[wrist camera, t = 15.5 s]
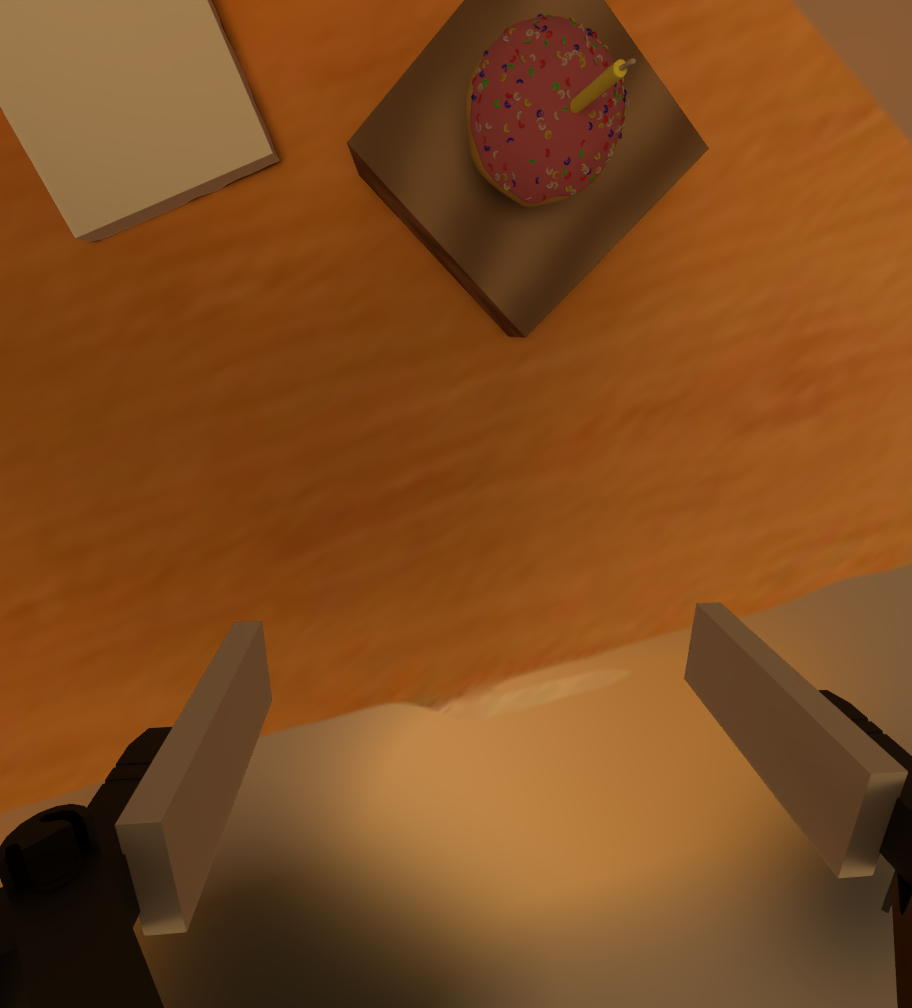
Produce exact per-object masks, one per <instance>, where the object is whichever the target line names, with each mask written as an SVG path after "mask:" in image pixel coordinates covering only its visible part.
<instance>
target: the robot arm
mask: <svg viewBox="0 0 912 1008" xmlns="http://www.w3.org/2000/svg"><path fill="white" fill-rule="evenodd" d="M684 679H685V680H686V682H687V683H688V684H689V685H690V687H691V688H692V689H693V691H694V692H695V693H696V695H697V696H698V697H699V698H700V700H701V701H702V702H703V704H704V705H705V706H706V707H707V709H708V710H709V711H710V713H711V714H712V715H713V717H714V718H715V719H716V720H717V722H718V723H719V724H720V726H721V727H722V728H723V730H724V731H725V732H726V733H727V735H728V736H729V737H730V739H731V740H732V741H733V743H734V744H735V745H736V746H737V748H738V749H739V750H740V751H741V753H742V754H743V755H744V757H745V758H746V759H747V761H748V762H749V763H750V764H751V766H752V767H753V768H754V770H755V771H756V772H757V774H758V775H759V776H760V778H761V779H762V780H763V781H764V783H765V784H766V785H767V787H768V788H769V789H770V790H771V792H772V793H773V794H774V796H775V797H776V798H777V799H778V801H779V802H780V803H781V805H782V806H783V807H784V808H785V810H786V811H787V813H789V815H790V816H791V818H792V819H793V820H794V822H795V823H796V824H797V825H798V827H799V828H800V829H801V831H802V832H803V833H804V835H805V836H806V837H807V838H808V840H809V841H810V842H811V843H812V845H813V846H814V847H815V849H816V850H817V851H818V853H819V854H820V855H821V857H822V858H823V859H824V860H825V862H826V863H827V864H828V866H829V867H830V868H831V869H832V871H833V872H834V873H835V875H836V876H837V877H838V878H846V877H857V876H871V875H873V873H874V870H875V867H876V864H877V861H878V858H879V855H880V853H881V854H882V855H883V856H884V858H885V859H886V860H887V861H888V862H889V863H890V864H891V865H892V866H893V868H894V869H895V872H894V875H893V878H892V880H891V883H890V886H889V889H888V892H887V894H886V897H885V900H884V903H883V906H882V910H883V911H885V912H887V913H888V912H889V909H890V907H891V905H892V911H893V930H894V949H895V966H896V985H897V1004H898V1008H912V756H911V755H910V754H909V753H907V752H906V751H905V750H904V749H903V748H902V747H900V746H899V745H898V744H897V743H896V742H895V741H894V740H892V739H891V738H890V737H889V736H888V735H887V734H883V732H882V730H881V729H880V728H878V727H877V726H876V725H875V724H874V723H872V722H871V721H870V722H869V721H868V718H867V717H866V716H865V715H863V714H862V713H861V712H860V711H859V710H858V709H856V708H855V707H854V706H853V705H852V704H851V703H849V702H847V701H846V700H844V699H842V698H840V697H838V696H837V695H835V694H833V693H831V692H830V691H828V690H817V689H816V688H815V687H814V686H812V685H811V684H810V683H809V682H808V681H807V680H806V679H805V678H804V677H802V676H801V675H800V674H799V673H798V672H797V671H796V670H794V668H792V667H791V666H790V665H789V664H788V663H787V662H786V661H785V660H783V659H782V658H781V657H780V656H779V655H778V654H777V653H776V652H775V651H773V650H772V649H771V648H770V647H769V646H768V645H767V644H766V643H765V642H763V641H762V640H761V639H760V638H759V637H758V636H757V635H756V634H754V632H752V631H751V630H750V629H749V628H748V627H747V626H746V625H744V624H743V623H742V622H741V621H740V620H739V619H738V618H737V617H736V616H735V615H734V614H732V613H731V612H730V611H729V610H728V609H727V608H726V607H725V606H723V605H722V604H721V603H696V609H695V615H694V621H693V627H692V634H691V640H690V646H689V653H688V659H687V665H686V671H685V677H684ZM271 702H272V694H271V687H270V679H269V671H268V664H267V656H266V649H265V641H264V633H263V626H262V621H249V622H235V623H234V624H233V626H232V628H231V629H230V631H229V633H228V634H227V636H226V638H225V639H224V641H223V643H222V645H221V646H220V648H219V650H218V651H217V653H216V655H215V656H214V658H213V660H212V661H211V663H210V665H209V667H208V668H207V670H206V672H205V673H204V675H203V677H202V678H201V680H200V682H199V683H198V685H197V687H196V689H195V690H194V692H193V694H192V695H191V697H190V699H189V700H188V702H187V704H186V705H185V707H184V709H183V711H182V712H181V714H180V716H179V717H178V719H177V721H176V722H175V724H174V726H173V727H162V728H149V729H147V730H146V731H145V732H144V733H143V734H141V735H140V736H139V737H138V738H137V739H135V740H134V741H133V742H132V743H131V744H129V745H128V747H127V748H126V750H125V751H124V753H123V754H122V756H121V757H120V759H119V760H118V762H117V763H116V767H115V768H113V769H112V771H111V772H110V774H109V775H108V777H107V778H106V780H105V784H102V786H101V787H100V789H99V790H98V792H97V793H96V795H95V796H94V798H93V799H92V801H91V802H90V804H89V805H88V807H87V808H86V807H85V806H80V805H75V804H68V805H61V806H56V807H53V808H51V809H48V810H45V811H43V812H40V813H38V814H36V815H35V816H33V817H31V818H30V819H28V820H26V821H25V822H23V823H21V824H20V825H19V826H18V827H17V828H16V829H15V830H14V831H12V832H11V833H10V834H9V835H8V836H7V837H6V838H5V840H4V841H3V843H2V844H1V846H0V879H1V882H2V884H3V887H1V888H0V1008H164V1007H163V1004H162V1002H161V999H160V997H159V994H158V992H157V989H156V986H155V984H154V981H153V979H152V976H151V974H150V971H149V968H148V966H147V964H146V961H145V958H144V956H143V953H142V951H141V948H140V946H139V943H138V941H137V938H136V935H135V933H134V931H133V926H134V924H135V922H136V920H137V918H138V916H139V917H140V921H141V925H142V928H143V932H144V935H157V934H169V933H181V932H186V931H187V929H188V926H189V924H190V921H191V918H192V916H193V913H194V910H195V907H196V905H197V902H198V899H199V897H200V894H201V891H202V889H203V886H204V883H205V880H206V878H207V875H208V872H209V870H210V867H211V864H212V861H213V859H214V856H215V853H216V851H217V848H218V845H219V843H220V840H221V837H222V834H223V832H224V829H225V826H226V823H227V821H228V818H229V815H230V813H231V810H232V807H233V805H234V802H235V799H236V796H237V794H238V791H239V788H240V786H241V783H242V780H243V778H244V775H245V772H246V769H247V767H248V764H249V761H250V759H251V756H252V753H253V750H254V748H255V745H256V742H257V740H258V737H259V734H260V731H261V729H262V726H263V723H264V721H265V718H266V715H267V713H268V710H269V707H270V704H271Z"/></svg>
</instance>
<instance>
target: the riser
mask: <svg viewBox="0 0 912 1008" xmlns="http://www.w3.org/2000/svg"><path fill="white" fill-rule="evenodd" d="M539 14H543V15H544V16H545V15H547V14H550V15H551V16H560V17H564V18H566V19H569V17H570V16H571V17H572V18H573V19H574V22H575V23H577V24H579V25H581V24H583V27H584V28H586V29H587V28H590V29H591V30H592V32H593V31H595V32H596V33H597V39H598V40H599V41H600V42H601V43H602V44H601V45H602V46H603V45H606V46H607V47H608V51H607V52H608V53H609V55H610V56H611V58H612V59H613V61H614V62H616V61H617V60H619V59H622V60H624V61H625V62H627V61H628V60H630V59H633V58H634V59H635V60H636V62H635V63H634V64H632V65H630V66H629V67H628V68H627V72H626V74H625V76H624V82H623V87H624V89H625V90H626V91H627V95H626V96H625V98H626V100H628V101H629V105H628V107H627V108H626V114H625V117H626V118H625V119H624V123H625V124H624V125H623V128H622V131H621V133H622V138H621V139H620V138H619V140H618V142H617V145H616V147H615V149H614V151H613V154H612V155H611V157H610V160H609V161H608V163H607V165H606V166H605V168H604V169H603V171H602V172H601V173H600V175H599V176H598V177H597V178H596V179H595V180H594V181H593V182H592V183H591V184H590V185H589V186H587V187H586V188H585V189H584V190H582V191H581V192H579V193H578V194H576V195H574V196H572V197H570V198H568V199H565V200H562V201H559V202H556V203H552V204H547V205H541V206H535V207H525V206H522V205H520V204H518V203H517V202H515V201H514V200H512V199H511V198H509V197H507V196H506V195H504V194H503V193H502V192H500V191H499V190H497V189H496V188H495V187H494V186H492V185H491V184H490V183H489V182H488V181H487V180H486V179H485V178H484V177H483V176H482V175H481V174H480V172H479V171H478V170H477V168H476V166H475V164H474V162H473V160H472V158H471V155H470V149H469V137H468V131H467V123H466V109H465V107H466V94H467V89H468V85H469V82H470V79H471V76H472V73H473V71H474V69H475V67H476V65H477V64H478V62H479V61H480V59H481V58H482V57H483V55H484V52H485V51H486V50H487V51H488V50H489V48H490V47H491V46H492V45H493V44H494V43H495V42H496V41H497V40H498V39H499V38H500V37H501V35H502V34H503V32H504V31H505V29H506V28H510V27H511V26H512V25H514V24H516V23H518V22H521V21H524V20H528V19H532V18H536V17H537V16H538V15H539ZM539 17H542V16H539ZM589 31H590V30H589ZM590 32H591V31H590ZM593 35H595V34H593ZM595 37H596V36H595ZM604 48H606V47H604ZM606 49H607V48H606ZM624 94H625V93H624ZM626 100H625V101H626ZM627 104H628V103H627ZM626 106H627V105H626ZM620 137H621V135H620ZM347 144H348V147H349V149H350V152H351V155H352V157H353V160H354V163H355V165H356V168H357V170H358V173H359V175H360V176H361V177H362V179H363V180H364V181H365V182H366V183H367V184H368V185H369V186H370V187H371V188H372V189H373V190H374V191H375V193H376V194H377V195H378V196H379V197H380V198H381V199H382V200H383V201H384V202H385V203H386V204H387V205H388V207H389V208H390V209H391V210H392V211H393V212H394V213H395V214H396V215H397V216H398V217H399V218H400V219H401V221H402V222H403V223H404V224H405V225H406V226H407V227H408V228H409V229H410V230H411V231H412V232H413V234H414V235H415V236H416V237H417V238H418V239H419V240H420V241H421V242H422V243H423V244H424V245H425V246H426V248H427V249H428V250H429V251H430V252H431V253H432V254H433V255H434V256H435V257H436V258H437V259H438V260H439V262H440V263H441V264H442V265H443V266H444V267H445V268H446V269H447V270H448V271H449V272H450V273H451V275H452V276H453V277H454V278H455V279H456V280H457V281H458V282H459V283H460V284H461V285H462V286H463V287H464V289H465V290H466V291H467V292H468V293H469V294H470V295H471V296H472V297H473V298H474V299H475V300H476V301H477V303H478V304H479V305H480V306H481V307H482V308H483V309H484V310H485V311H486V312H487V313H488V314H489V315H490V317H491V318H492V319H493V320H494V321H495V322H496V323H497V324H498V325H499V326H500V327H501V328H502V330H503V331H504V332H505V333H506V334H507V335H508V336H509V337H526V336H527V335H528V334H529V333H530V332H531V331H532V330H533V329H534V328H535V327H536V326H537V325H538V324H539V323H540V322H541V321H542V320H543V319H544V318H545V317H546V316H547V315H548V314H549V313H550V312H551V311H552V310H553V309H554V308H555V307H556V306H557V304H558V303H559V302H560V301H561V300H562V299H563V298H564V297H565V296H566V295H567V294H568V293H569V292H570V291H571V290H572V289H573V288H574V287H575V286H576V285H577V284H578V283H579V282H580V281H581V280H582V279H583V278H584V277H585V276H586V275H587V274H588V273H589V272H590V271H591V270H592V268H593V267H594V266H595V265H596V264H597V263H598V262H599V261H600V260H601V259H602V258H603V257H604V256H605V255H606V254H607V253H608V252H609V251H610V250H611V249H612V248H613V247H614V246H615V245H616V244H617V243H618V242H619V241H620V240H621V239H622V238H623V237H624V236H625V235H626V234H627V233H628V231H629V230H630V229H631V228H632V227H633V226H634V225H635V224H636V223H637V222H638V221H639V220H640V219H641V218H642V217H643V216H644V215H645V214H646V213H647V212H648V211H649V210H650V209H651V208H652V207H653V206H654V205H655V204H656V203H657V202H658V201H659V200H660V199H661V198H662V197H663V195H664V194H665V193H666V192H667V191H668V190H669V189H670V188H671V187H672V186H673V185H674V184H675V183H676V182H677V181H678V180H679V179H680V178H681V177H682V176H683V175H684V174H685V173H686V172H687V171H688V170H689V169H690V168H691V167H692V166H693V165H694V164H695V163H696V162H697V161H698V160H699V158H700V157H701V156H702V155H703V154H704V153H705V152H706V151H707V150H708V149H709V148H708V147H707V145H706V144H705V142H704V141H703V140H702V138H701V137H700V135H699V134H698V132H697V131H696V130H695V128H694V127H693V125H692V124H691V123H690V121H689V120H688V118H687V117H686V115H685V114H684V113H683V111H682V110H681V108H680V107H679V106H678V104H677V103H676V101H675V100H674V98H673V97H672V96H671V94H670V93H669V91H668V90H667V89H666V87H665V86H664V84H663V83H662V81H661V80H660V79H659V77H658V76H657V74H656V73H655V72H654V70H653V69H652V67H651V66H650V64H649V63H648V62H647V60H646V59H645V57H644V56H643V55H642V53H641V52H640V50H639V49H638V47H637V46H636V45H635V43H634V42H633V40H632V39H631V38H630V36H629V35H628V33H627V32H626V30H625V29H624V28H623V26H622V25H621V23H620V22H619V21H618V19H617V18H616V16H615V15H614V13H613V12H612V11H611V9H610V8H609V6H608V5H607V4H606V2H605V1H604V0H464V1H463V3H462V4H461V5H460V6H459V8H458V9H457V10H456V11H455V12H454V14H453V15H452V16H451V17H450V18H449V20H448V21H447V22H446V23H445V25H444V26H443V27H442V28H441V29H440V31H439V32H438V33H437V34H436V35H435V37H434V38H433V39H432V40H431V42H430V43H429V44H428V45H427V46H426V48H425V49H424V50H423V51H422V52H421V54H420V55H419V56H418V57H417V58H416V60H415V61H414V62H413V63H412V65H411V66H410V67H409V68H408V69H407V71H406V72H405V73H404V74H403V75H402V77H401V78H400V79H399V80H398V82H397V83H396V84H395V85H394V86H393V88H392V89H391V90H390V91H389V92H388V94H387V95H386V96H385V97H384V99H383V100H382V101H381V102H380V103H379V105H378V106H377V107H376V108H375V109H374V111H373V112H372V113H371V114H370V116H369V117H368V118H367V119H366V120H365V122H364V123H363V124H362V125H361V126H360V128H359V129H358V130H357V131H356V133H355V134H354V135H353V136H352V137H351V139H350V140H349V141H348V142H347Z"/></svg>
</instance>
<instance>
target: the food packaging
mask: <svg viewBox="0 0 912 1008" xmlns="http://www.w3.org/2000/svg"><path fill="white" fill-rule="evenodd" d="M0 107H1V109H2V111H3V113H4V114H5V116H6V118H7V120H8V121H9V123H10V125H11V127H12V128H13V130H14V132H15V134H16V135H17V137H18V139H19V141H20V142H21V144H22V146H23V148H24V150H25V151H26V153H27V155H28V157H29V158H30V160H31V162H32V164H33V165H34V167H35V169H36V171H37V172H38V174H39V176H40V178H41V179H42V181H43V183H44V185H45V186H46V188H47V190H48V192H49V193H50V195H51V197H52V199H53V200H54V202H55V204H56V206H57V207H58V209H59V211H60V213H61V214H62V216H63V218H64V220H65V221H66V223H67V225H68V227H69V229H70V230H71V232H72V234H73V236H74V237H75V239H80V240H85V241H89V242H92V241H97V240H102V239H104V238H107V237H109V236H112V235H114V234H116V233H119V232H121V231H123V230H126V229H128V228H130V227H133V226H135V225H137V224H140V223H142V222H144V221H147V220H149V219H152V218H154V217H156V216H159V215H161V214H163V213H166V212H168V211H170V210H173V209H175V208H177V207H180V206H182V205H184V204H187V203H188V202H189V201H191V200H193V199H195V198H197V197H199V196H202V195H206V194H209V193H213V192H215V191H217V190H220V189H222V188H223V187H224V186H226V185H227V184H229V183H231V182H234V181H235V180H237V179H239V178H241V177H244V176H247V175H250V174H252V173H254V172H256V171H259V170H261V169H263V168H265V167H267V166H269V165H271V164H274V163H276V162H279V161H280V160H279V158H278V155H277V153H276V151H275V149H274V147H273V143H272V140H271V137H270V135H269V133H268V130H267V128H266V126H265V123H264V121H263V119H262V117H261V115H260V112H259V110H258V108H257V106H256V103H255V101H254V98H253V95H252V93H251V90H250V87H249V84H248V82H247V79H246V77H245V74H244V72H243V70H242V67H241V65H240V63H239V60H238V58H237V56H236V54H235V52H234V50H233V48H232V46H231V44H230V43H229V41H228V39H227V37H226V34H225V32H224V30H223V28H222V25H221V22H220V19H219V16H218V13H217V11H216V9H215V7H214V5H213V3H212V1H211V0H0Z"/></svg>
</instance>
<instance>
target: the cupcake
mask: <svg viewBox="0 0 912 1008" xmlns="http://www.w3.org/2000/svg"><path fill="white" fill-rule="evenodd" d="M539 16H542V17H539ZM589 30H590V31H591V32H590V31H589ZM593 34H595V35H593ZM595 36H596V37H595ZM601 44H602V43H601V42H600V41H599V40H598V39H597V33H596V32H595V31H593V32H592V30H591V29H590V28H587V29H586V28H584V27H583V24H581V25H579V24H577V23H575V22H574V19H573V18H572V17H571V16H570V17H569V19H566V18H564V17H560V16H551V15H550V14H547V15H545V16H544V15H543V14H539V15H538V16H537V17H536V18H532V19H528V20H524V21H521V22H518V23H516V24H514V25H512V26H511V27H510V28H506V29H505V31H504V32H503V34H502V35H501V37H500V38H499V39H498V40H497V41H496V42H495V43H494V44H493V45H492V46H491V47H490V48H489V50H488V51H487V50H486V51H485V52H484V55H483V57H482V58H481V59H480V61H479V62H478V64H477V65H476V67H475V69H474V71H473V73H472V76H471V79H470V82H469V85H468V89H467V94H466V107H465V109H466V123H467V131H468V137H469V149H470V155H471V158H472V160H473V162H474V164H475V166H476V168H477V170H478V171H479V172H480V174H481V175H482V176H483V177H484V178H485V179H486V180H487V181H488V182H489V183H490V184H491V185H492V186H494V187H495V188H496V189H497V190H499V191H500V192H502V193H503V194H504V195H506V196H507V197H509V198H511V199H512V200H514V201H515V202H517V203H518V204H520V205H522V206H525V207H535V206H541V205H547V204H552V203H556V202H559V201H562V200H565V199H568V198H570V197H572V196H574V195H576V194H578V193H579V192H581V191H582V190H584V189H585V188H586V187H587V186H589V185H590V184H591V183H592V182H593V181H594V180H595V179H596V178H597V177H598V176H599V175H600V173H601V172H602V171H603V169H604V168H605V166H606V165H607V163H608V161H609V160H610V157H611V155H612V154H613V151H614V149H615V147H616V145H617V142H618V140H619V138H620V139H621V138H622V133H621V131H622V128H623V125H624V124H625V123H624V119H625V118H626V117H625V114H626V108H627V107H628V105H629V101H628V100H626V98H625V96H626V95H627V91H626V90H625V89H624V87H623V82H624V76H625V74H626V72H627V68H628V67H629V66H630V65H632V64H634V63H635V62H636V60H635V59H634V58H633V59H630V60H628V61H627V62H625V61H624V60H622V59H619V60H617V61H616V62H614V61H613V59H612V58H611V56H610V55H609V53H608V52H607V51H608V47H607V46H606V45H603V46H602V45H601ZM604 47H606V48H607V49H606V48H604ZM624 93H625V94H624ZM625 100H626V101H625ZM627 103H628V104H627ZM626 105H627V106H626ZM620 135H621V137H620Z"/></svg>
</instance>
